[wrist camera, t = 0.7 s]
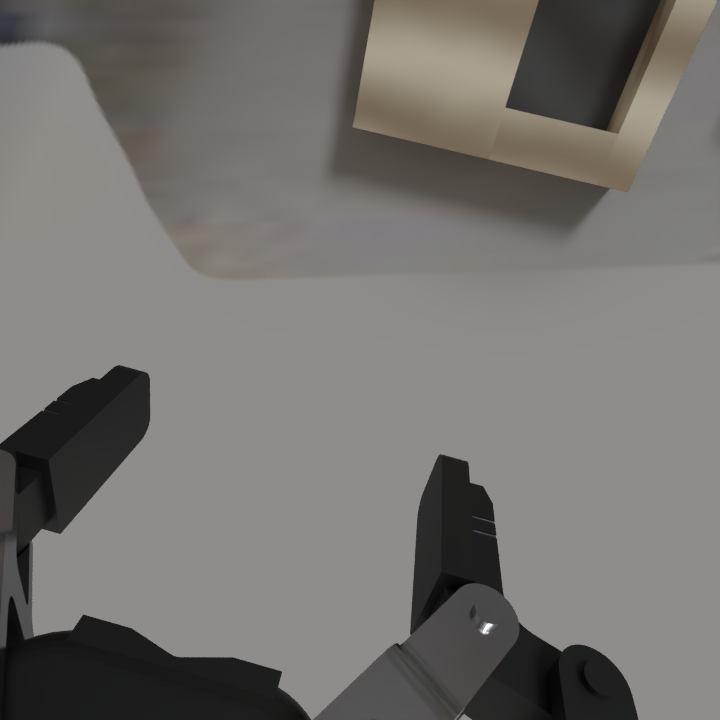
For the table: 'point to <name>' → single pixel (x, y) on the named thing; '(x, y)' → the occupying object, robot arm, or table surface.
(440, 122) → the hole board
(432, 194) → the table surface
